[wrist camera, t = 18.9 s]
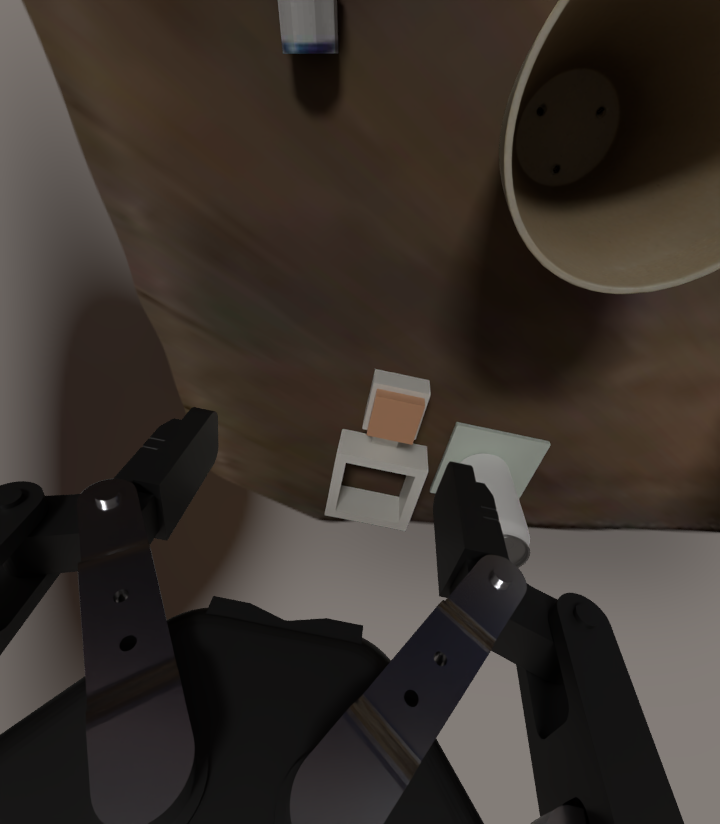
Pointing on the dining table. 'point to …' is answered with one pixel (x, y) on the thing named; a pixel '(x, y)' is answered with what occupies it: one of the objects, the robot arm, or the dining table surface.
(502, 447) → the pad
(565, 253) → the plant pot
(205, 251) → the dining table surface
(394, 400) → the light brown square block
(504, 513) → the can
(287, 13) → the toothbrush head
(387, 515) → the white piece
